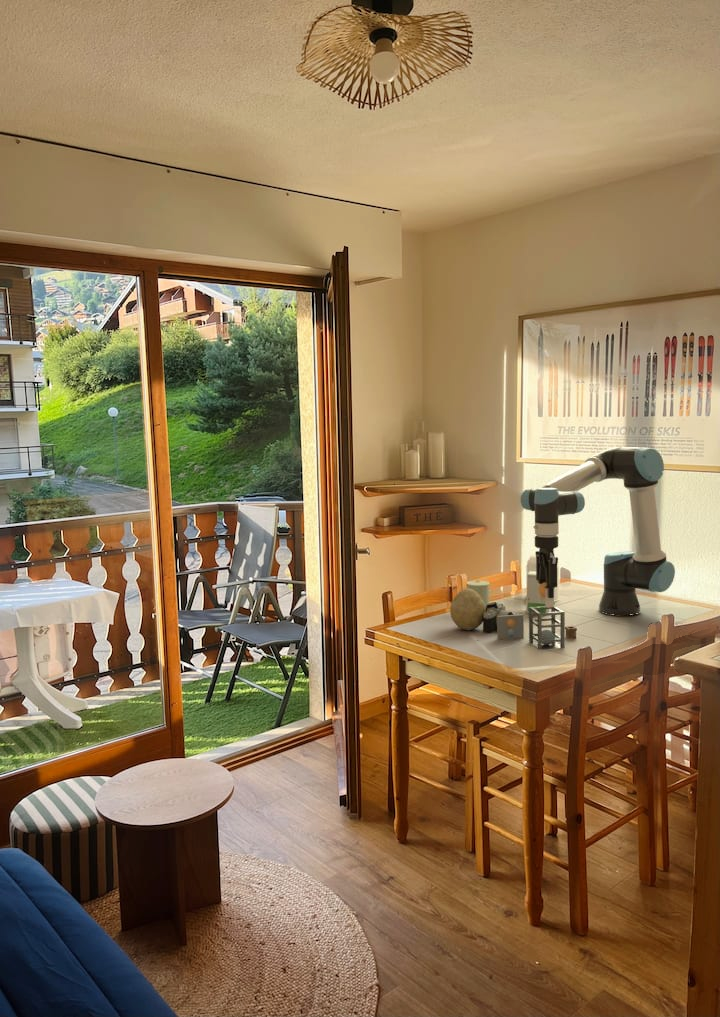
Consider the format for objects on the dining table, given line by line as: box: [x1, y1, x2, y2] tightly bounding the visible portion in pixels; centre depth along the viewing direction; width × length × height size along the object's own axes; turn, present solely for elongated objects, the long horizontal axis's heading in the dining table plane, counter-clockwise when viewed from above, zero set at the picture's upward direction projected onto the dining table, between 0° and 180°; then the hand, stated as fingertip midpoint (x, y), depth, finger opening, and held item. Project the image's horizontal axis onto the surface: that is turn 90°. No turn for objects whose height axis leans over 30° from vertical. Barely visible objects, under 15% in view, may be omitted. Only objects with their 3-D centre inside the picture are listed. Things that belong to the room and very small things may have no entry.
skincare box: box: [526, 571, 550, 615], centre depth 303 cm, size 8×7×16 cm
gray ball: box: [542, 629, 554, 645], centre depth 258 cm, size 5×5×5 cm
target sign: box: [496, 613, 525, 641], centre depth 267 cm, size 9×3×9 cm, turn 98°
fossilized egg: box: [449, 588, 486, 631], centre depth 282 cm, size 13×13×15 cm
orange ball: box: [539, 583, 547, 597], centre depth 256 cm, size 5×5×5 cm
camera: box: [482, 601, 514, 634], centre depth 279 cm, size 16×9×10 cm, turn 146°
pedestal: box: [565, 625, 578, 640], centre depth 266 cm, size 5×5×4 cm
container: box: [525, 552, 560, 600], centre depth 325 cm, size 13×13×20 cm
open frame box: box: [528, 605, 566, 651], centre depth 258 cm, size 9×9×13 cm
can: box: [466, 580, 491, 607], centre depth 307 cm, size 9×9×12 cm
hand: (546, 605), depth 257 cm, fingers closed on orange ball, 5 cm apart
